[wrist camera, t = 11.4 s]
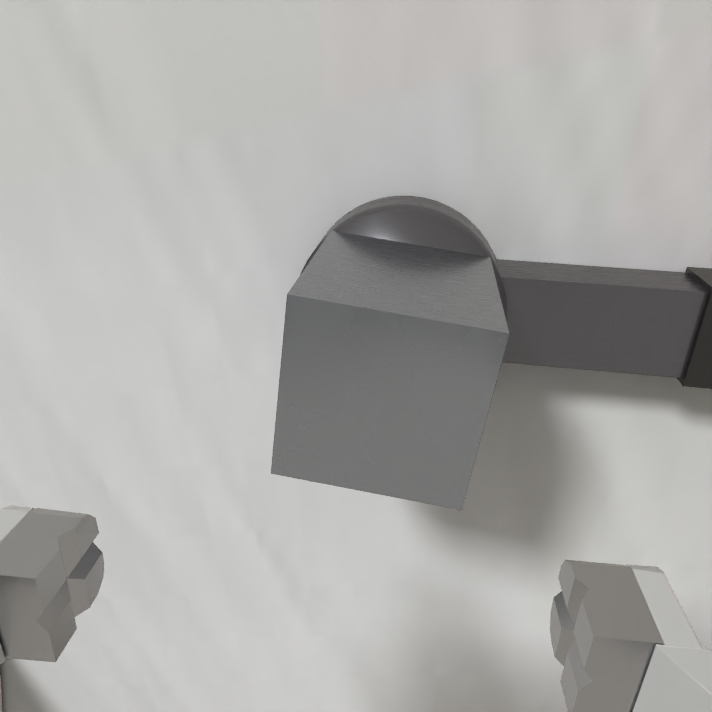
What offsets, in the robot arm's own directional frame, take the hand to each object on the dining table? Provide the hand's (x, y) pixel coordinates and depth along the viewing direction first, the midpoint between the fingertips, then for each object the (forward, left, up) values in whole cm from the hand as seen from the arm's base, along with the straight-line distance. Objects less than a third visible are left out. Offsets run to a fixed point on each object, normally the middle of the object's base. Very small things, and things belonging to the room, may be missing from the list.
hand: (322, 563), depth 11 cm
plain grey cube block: (0, -1, -11) cm, 11 cm away
